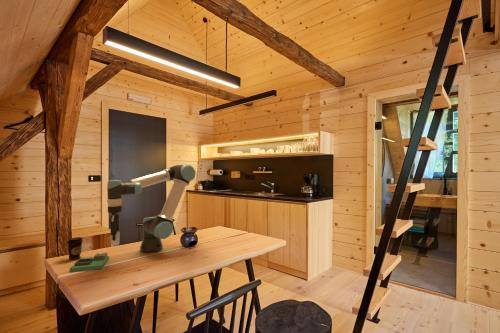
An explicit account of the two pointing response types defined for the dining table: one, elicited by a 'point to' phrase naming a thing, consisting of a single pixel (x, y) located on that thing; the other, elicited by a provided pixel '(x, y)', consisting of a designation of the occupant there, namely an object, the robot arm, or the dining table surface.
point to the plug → (117, 238)
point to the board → (90, 263)
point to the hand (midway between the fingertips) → (115, 244)
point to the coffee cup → (74, 248)
